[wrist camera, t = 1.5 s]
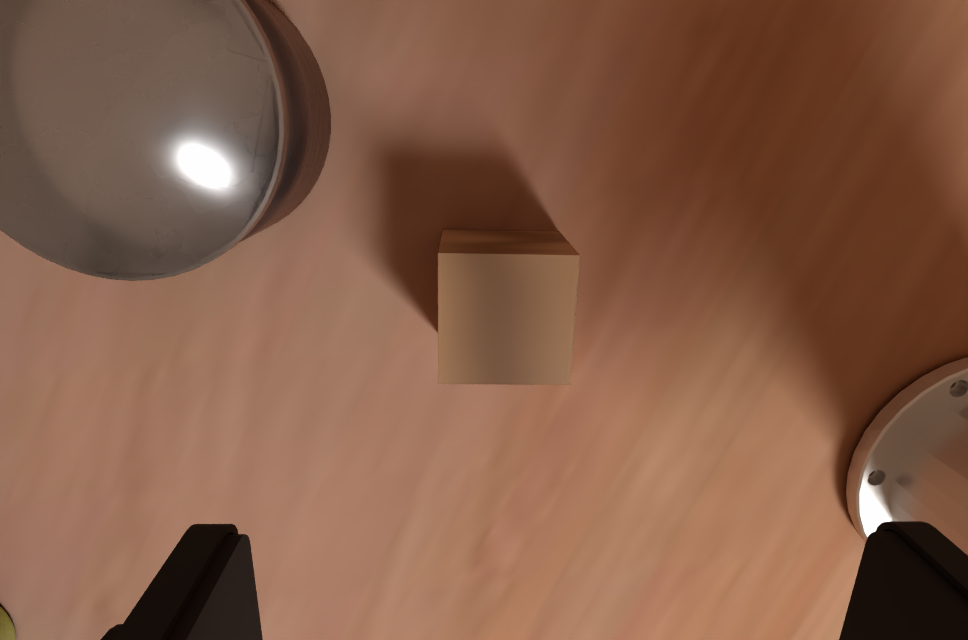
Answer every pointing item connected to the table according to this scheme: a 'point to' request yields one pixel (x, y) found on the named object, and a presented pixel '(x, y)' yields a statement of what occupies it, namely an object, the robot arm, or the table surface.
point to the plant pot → (6, 627)
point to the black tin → (153, 129)
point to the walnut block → (506, 307)
